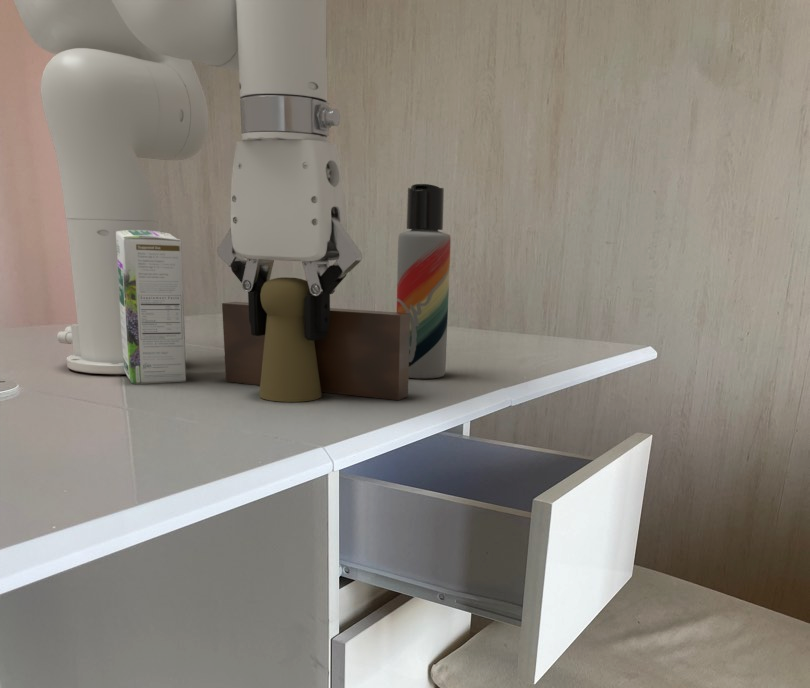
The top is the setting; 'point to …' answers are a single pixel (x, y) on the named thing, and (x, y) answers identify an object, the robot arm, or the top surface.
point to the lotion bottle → (425, 280)
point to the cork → (287, 344)
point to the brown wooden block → (332, 351)
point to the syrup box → (151, 306)
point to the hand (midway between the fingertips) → (289, 334)
